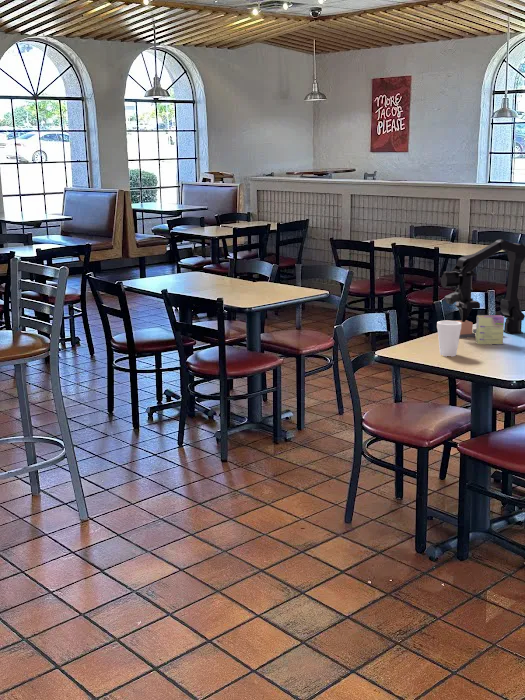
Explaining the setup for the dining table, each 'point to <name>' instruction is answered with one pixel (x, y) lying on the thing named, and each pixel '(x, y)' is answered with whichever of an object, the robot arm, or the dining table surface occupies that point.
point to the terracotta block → (466, 327)
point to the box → (489, 329)
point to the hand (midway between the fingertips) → (463, 321)
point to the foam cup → (448, 337)
